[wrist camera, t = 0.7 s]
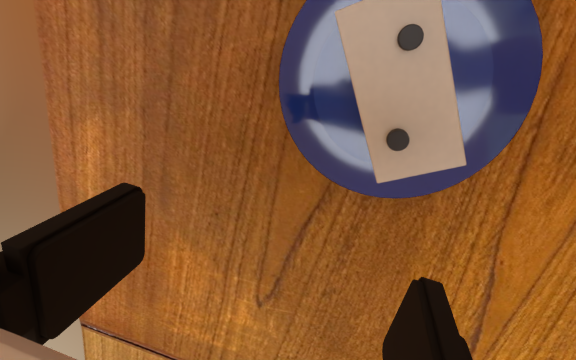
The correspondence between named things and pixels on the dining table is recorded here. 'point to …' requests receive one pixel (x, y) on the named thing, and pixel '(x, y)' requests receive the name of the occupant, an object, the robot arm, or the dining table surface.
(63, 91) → the dining table surface
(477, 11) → the plate
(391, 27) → the controller
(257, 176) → the dining table surface
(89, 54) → the dining table surface
